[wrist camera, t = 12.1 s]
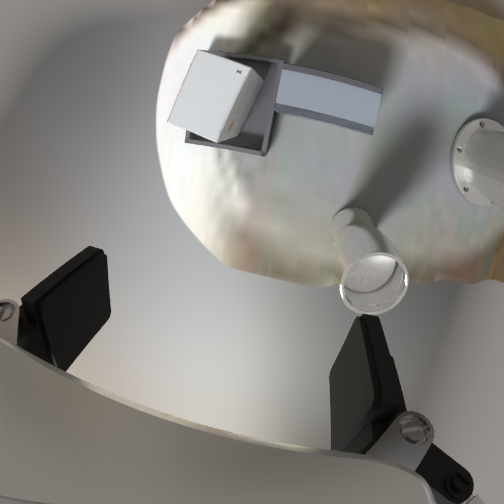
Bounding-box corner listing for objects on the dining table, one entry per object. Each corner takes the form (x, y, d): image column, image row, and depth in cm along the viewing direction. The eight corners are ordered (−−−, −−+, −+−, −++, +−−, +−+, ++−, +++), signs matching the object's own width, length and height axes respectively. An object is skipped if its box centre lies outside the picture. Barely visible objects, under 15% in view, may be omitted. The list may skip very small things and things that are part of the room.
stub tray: (284, 63, 32) (283, 60, 30) (266, 154, 37) (264, 156, 35) (206, 54, 33) (200, 50, 30) (191, 141, 38) (184, 142, 35)
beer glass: (318, 242, 41) (325, 305, 27) (338, 195, 38) (358, 238, 24) (363, 259, 41) (388, 325, 27) (384, 214, 38) (423, 265, 24)
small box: (224, 64, 32) (197, 46, 23) (266, 80, 33) (253, 65, 23) (198, 120, 36) (164, 122, 26) (238, 137, 36) (216, 143, 27)
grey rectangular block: (366, 95, 32) (383, 88, 25) (358, 132, 34) (373, 135, 27) (286, 75, 33) (283, 63, 25) (279, 112, 35) (273, 110, 27)
